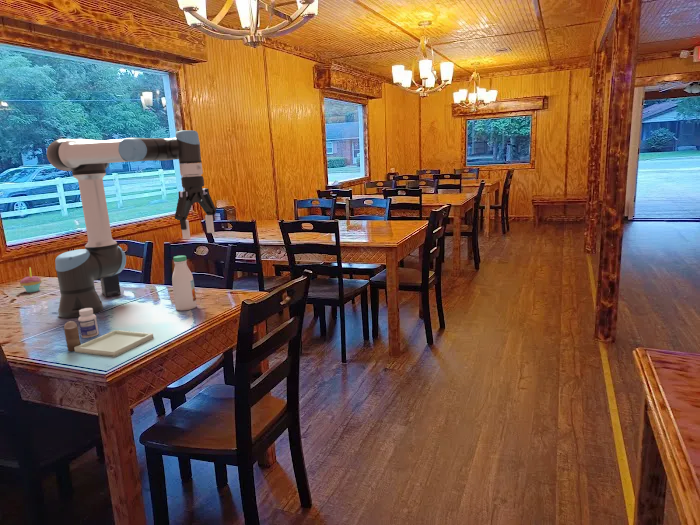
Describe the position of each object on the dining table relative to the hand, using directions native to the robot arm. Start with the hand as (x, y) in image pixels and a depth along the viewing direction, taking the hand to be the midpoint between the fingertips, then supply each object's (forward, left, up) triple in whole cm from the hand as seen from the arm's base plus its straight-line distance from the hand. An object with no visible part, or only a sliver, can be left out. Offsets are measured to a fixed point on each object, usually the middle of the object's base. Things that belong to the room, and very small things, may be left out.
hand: (199, 235), depth 181 cm
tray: (-6, -38, -28) cm, 47 cm away
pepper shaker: (-16, -44, -28) cm, 54 cm away
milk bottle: (-10, 0, -28) cm, 30 cm away
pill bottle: (-22, -33, -28) cm, 48 cm away
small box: (-60, +12, -28) cm, 67 cm away
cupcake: (-104, +8, -28) cm, 108 cm away
